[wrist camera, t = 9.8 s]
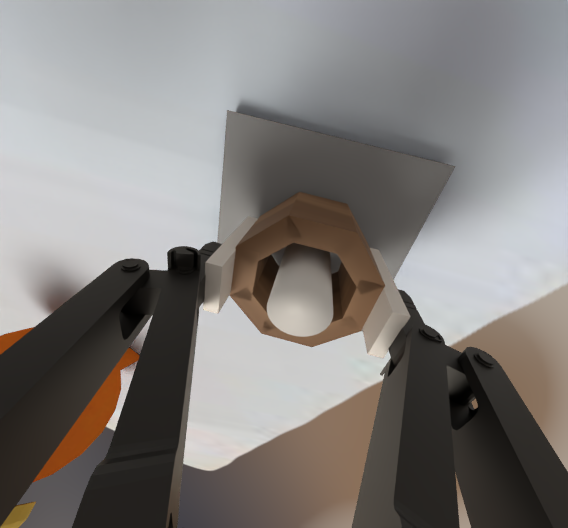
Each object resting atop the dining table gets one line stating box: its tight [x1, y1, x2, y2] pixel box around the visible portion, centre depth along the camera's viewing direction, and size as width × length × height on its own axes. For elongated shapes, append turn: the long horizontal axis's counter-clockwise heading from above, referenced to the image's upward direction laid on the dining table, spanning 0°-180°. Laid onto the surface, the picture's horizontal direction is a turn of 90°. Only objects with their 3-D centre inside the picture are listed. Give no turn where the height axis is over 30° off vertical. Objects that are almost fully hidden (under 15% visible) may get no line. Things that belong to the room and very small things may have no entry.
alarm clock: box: [0, 327, 140, 528], centre depth 21 cm, size 13×6×20 cm, turn 37°
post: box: [217, 110, 455, 337], centre depth 15 cm, size 14×14×10 cm
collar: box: [230, 192, 385, 347], centre depth 14 cm, size 7×7×5 cm
